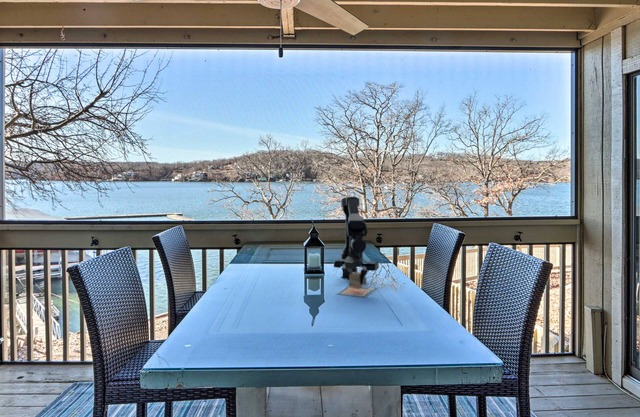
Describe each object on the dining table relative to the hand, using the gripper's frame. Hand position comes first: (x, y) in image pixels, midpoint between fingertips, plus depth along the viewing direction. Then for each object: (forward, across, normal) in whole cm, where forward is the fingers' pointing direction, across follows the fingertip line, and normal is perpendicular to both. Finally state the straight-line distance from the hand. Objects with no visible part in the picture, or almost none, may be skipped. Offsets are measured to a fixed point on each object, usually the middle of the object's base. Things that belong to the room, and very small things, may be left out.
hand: (356, 284), depth 181 cm
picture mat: (+3, 0, +1) cm, 4 cm away
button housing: (+3, -4, +14) cm, 15 cm away
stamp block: (+1, 0, 0) cm, 1 cm away
